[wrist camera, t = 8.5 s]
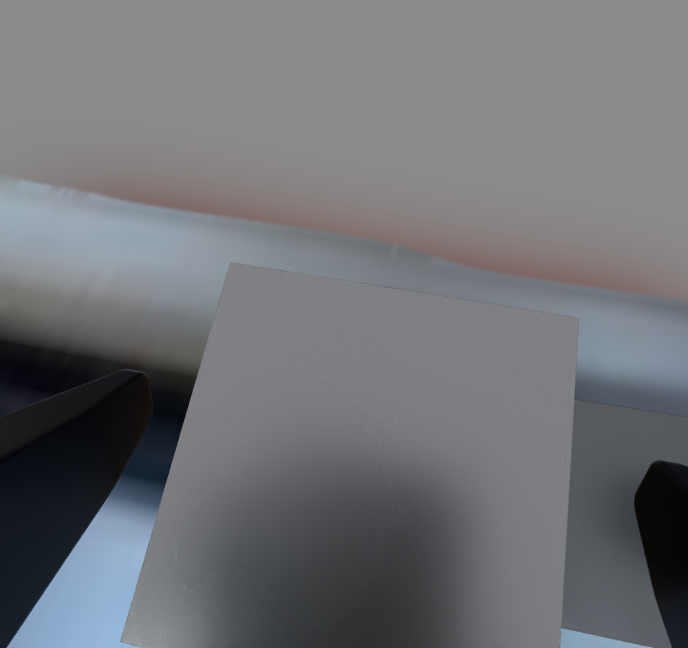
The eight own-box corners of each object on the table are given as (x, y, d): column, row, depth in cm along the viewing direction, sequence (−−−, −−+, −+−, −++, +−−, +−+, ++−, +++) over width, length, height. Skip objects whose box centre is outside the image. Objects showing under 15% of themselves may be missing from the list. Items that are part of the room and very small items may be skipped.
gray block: (424, 543, 15) (565, 762, 4) (303, 516, 16) (120, 642, 4) (440, 422, 16) (588, 319, 5) (328, 400, 17) (230, 261, 6)
